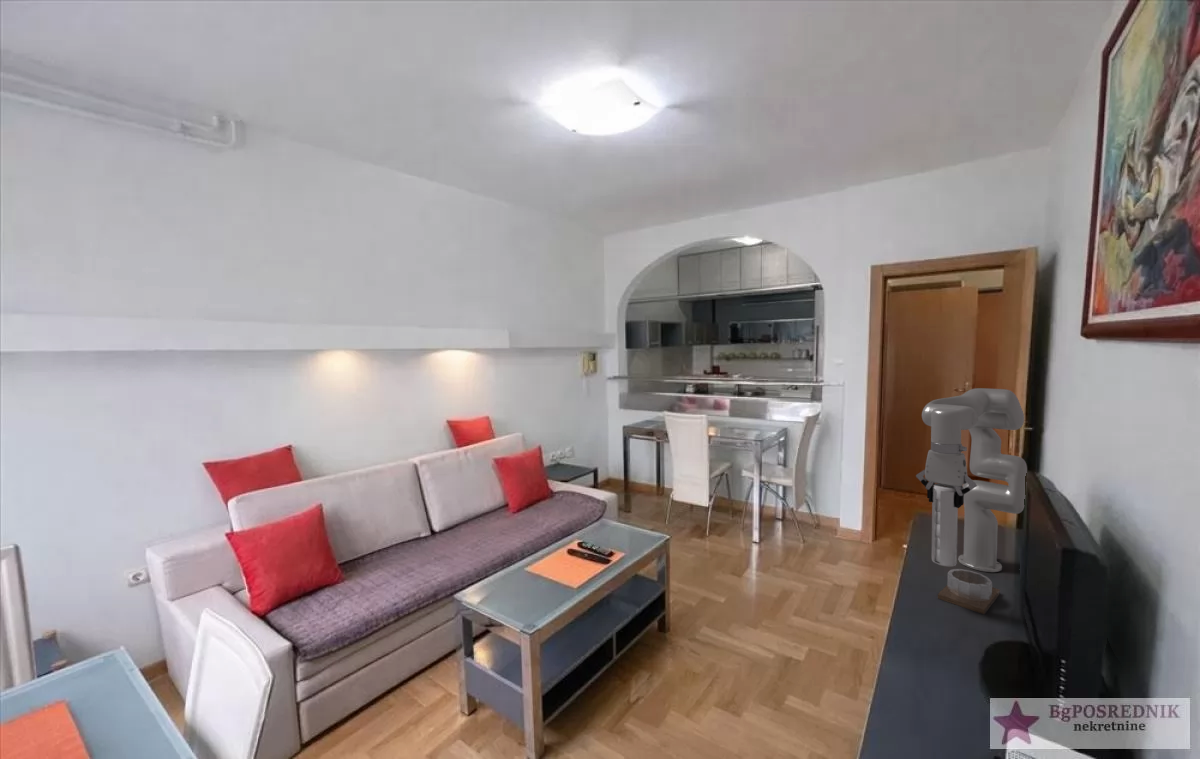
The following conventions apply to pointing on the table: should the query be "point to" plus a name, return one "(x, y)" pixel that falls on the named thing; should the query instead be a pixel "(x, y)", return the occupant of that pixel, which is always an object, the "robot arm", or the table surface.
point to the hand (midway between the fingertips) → (944, 503)
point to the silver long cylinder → (944, 525)
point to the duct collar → (969, 590)
